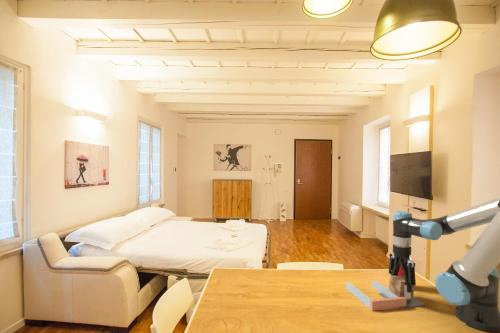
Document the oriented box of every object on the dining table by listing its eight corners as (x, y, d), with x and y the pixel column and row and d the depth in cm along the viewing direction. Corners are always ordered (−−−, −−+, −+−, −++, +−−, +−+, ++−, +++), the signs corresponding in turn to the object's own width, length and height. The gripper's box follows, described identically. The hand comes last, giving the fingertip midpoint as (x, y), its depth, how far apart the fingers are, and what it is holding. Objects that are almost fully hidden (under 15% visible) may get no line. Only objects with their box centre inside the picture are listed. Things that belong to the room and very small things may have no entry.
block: (413, 297, 125) (414, 281, 125) (399, 297, 124) (400, 281, 124) (401, 290, 132) (403, 275, 132) (388, 290, 131) (390, 275, 131)
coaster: (424, 305, 123) (424, 304, 123) (398, 308, 120) (398, 306, 120) (403, 292, 135) (403, 291, 135) (379, 294, 133) (379, 293, 133)
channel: (406, 307, 121) (406, 298, 121) (372, 310, 118) (372, 301, 118) (375, 286, 142) (375, 278, 142) (345, 288, 139) (345, 280, 139)
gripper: (426, 251, 119) (425, 304, 119) (394, 239, 138) (393, 284, 138) (411, 252, 117) (410, 306, 117) (380, 239, 137) (379, 285, 137)
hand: (401, 294), depth 128 cm, fingers closed on block, 7 cm apart
